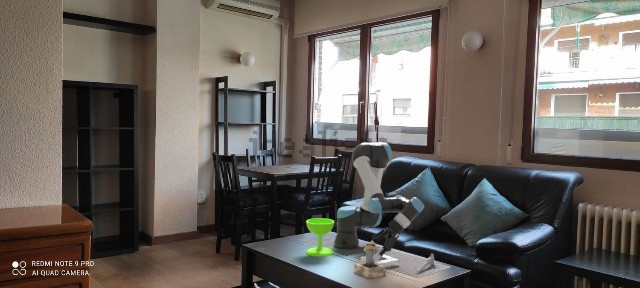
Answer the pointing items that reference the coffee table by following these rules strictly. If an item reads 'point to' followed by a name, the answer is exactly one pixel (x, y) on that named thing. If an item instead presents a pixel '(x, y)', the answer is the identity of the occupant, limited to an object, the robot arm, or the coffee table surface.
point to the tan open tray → (370, 270)
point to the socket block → (384, 261)
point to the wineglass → (320, 235)
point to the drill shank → (370, 255)
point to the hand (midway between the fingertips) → (369, 255)
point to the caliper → (426, 263)
